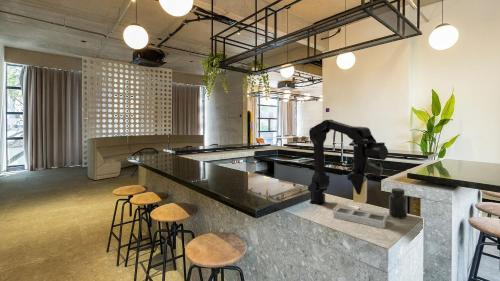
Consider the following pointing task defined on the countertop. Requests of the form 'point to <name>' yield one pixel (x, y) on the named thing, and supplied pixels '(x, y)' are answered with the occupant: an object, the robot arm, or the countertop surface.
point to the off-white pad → (346, 206)
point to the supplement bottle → (398, 204)
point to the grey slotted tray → (360, 217)
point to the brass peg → (363, 196)
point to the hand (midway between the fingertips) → (360, 193)
